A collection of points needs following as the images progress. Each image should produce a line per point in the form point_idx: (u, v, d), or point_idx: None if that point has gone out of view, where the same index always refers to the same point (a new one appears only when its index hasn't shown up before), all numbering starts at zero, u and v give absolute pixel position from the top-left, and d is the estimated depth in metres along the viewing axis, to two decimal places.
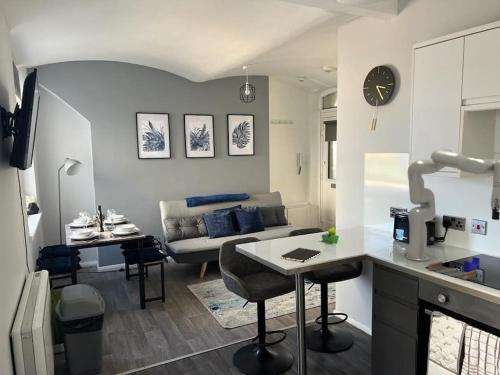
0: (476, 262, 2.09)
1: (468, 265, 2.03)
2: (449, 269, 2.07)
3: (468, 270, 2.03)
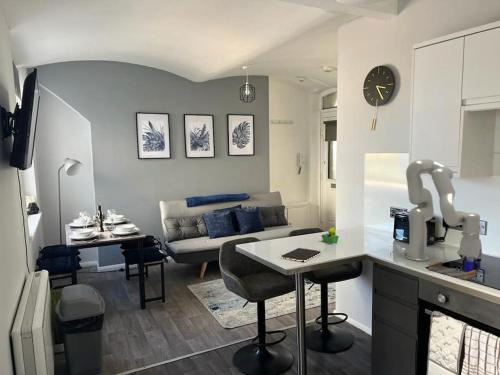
0: None
1: (468, 265, 2.03)
2: (449, 269, 2.07)
3: (469, 270, 2.03)
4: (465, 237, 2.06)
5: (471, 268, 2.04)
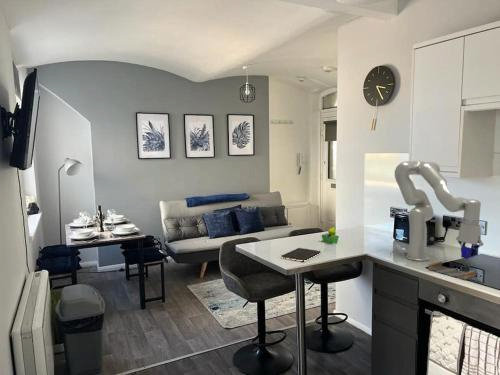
0: None
1: (466, 251, 2.03)
2: (449, 269, 2.07)
3: (466, 256, 2.04)
4: (465, 223, 2.06)
5: (468, 254, 2.04)
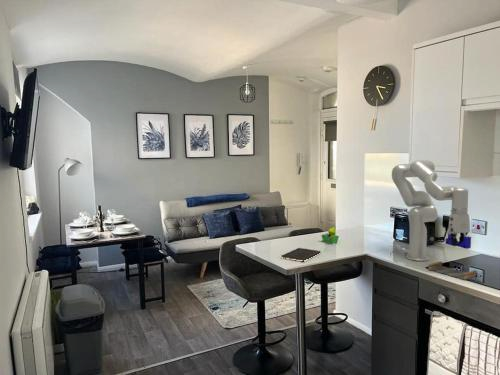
0: None
1: (470, 240, 1.98)
2: (449, 269, 2.07)
3: (469, 245, 1.98)
4: (462, 213, 1.98)
5: None
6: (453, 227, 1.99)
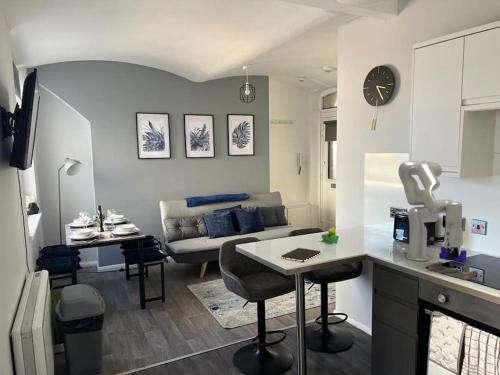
0: None
1: (465, 254, 1.98)
2: (449, 269, 2.07)
3: (465, 259, 1.98)
4: (458, 227, 1.97)
5: None
6: (450, 242, 1.97)
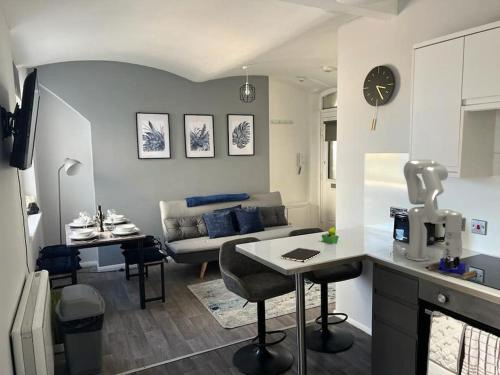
0: None
1: (464, 266, 1.99)
2: None
3: (464, 271, 1.99)
4: (458, 237, 1.97)
5: None
6: (450, 252, 1.98)
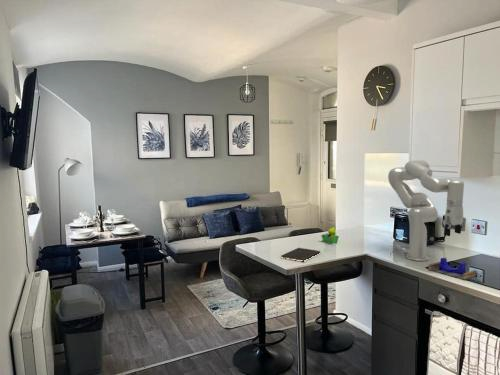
0: (446, 262, 2.07)
1: (465, 266, 1.99)
2: None
3: (464, 271, 1.99)
4: (459, 205, 2.00)
5: None
6: (450, 219, 2.00)
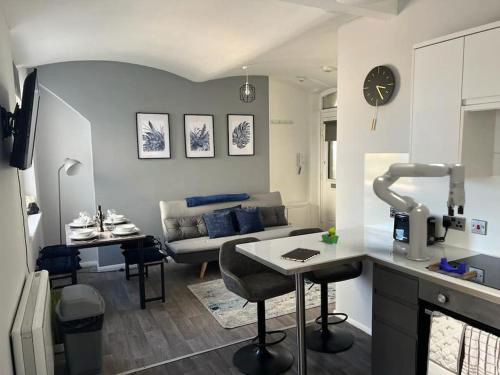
0: (446, 262, 2.07)
1: (465, 266, 1.99)
2: None
3: (464, 271, 1.99)
4: (461, 187, 2.12)
5: None
6: (454, 200, 2.12)
